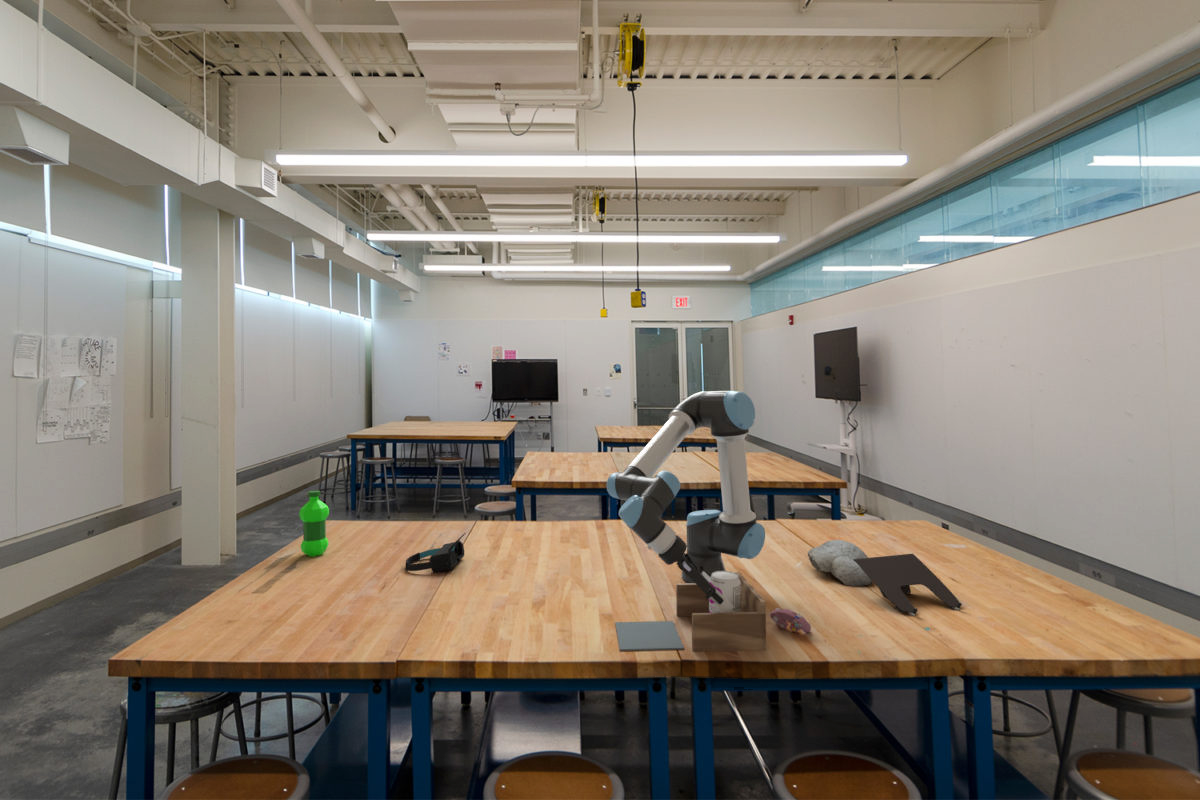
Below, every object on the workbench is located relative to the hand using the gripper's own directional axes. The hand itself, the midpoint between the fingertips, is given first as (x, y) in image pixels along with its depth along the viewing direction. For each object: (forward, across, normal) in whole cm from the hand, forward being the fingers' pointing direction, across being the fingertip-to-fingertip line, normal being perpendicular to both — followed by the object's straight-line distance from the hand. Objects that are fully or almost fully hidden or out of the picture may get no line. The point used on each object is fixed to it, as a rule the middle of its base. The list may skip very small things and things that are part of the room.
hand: (723, 600), depth 147 cm
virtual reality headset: (-58, -61, -71) cm, 111 cm away
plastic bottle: (-95, -77, -107) cm, 162 cm away
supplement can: (+7, 0, -6) cm, 9 cm away
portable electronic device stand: (+50, -19, +38) cm, 66 cm away
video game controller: (+19, 0, +7) cm, 20 cm away
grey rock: (+45, -46, +32) cm, 72 cm away
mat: (-8, +2, -20) cm, 22 cm away
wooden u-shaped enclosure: (+5, 0, -7) cm, 9 cm away
